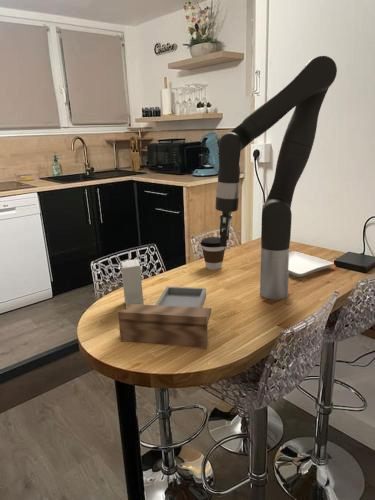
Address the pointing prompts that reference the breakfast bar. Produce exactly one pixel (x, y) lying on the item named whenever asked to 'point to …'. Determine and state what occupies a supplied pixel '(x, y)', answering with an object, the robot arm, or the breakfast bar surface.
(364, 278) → the breakfast bar surface
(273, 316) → the breakfast bar surface
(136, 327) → the walnut cantilever shelf
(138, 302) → the skincare box
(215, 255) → the coffee cup
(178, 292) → the slate tray
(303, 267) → the salad plate
